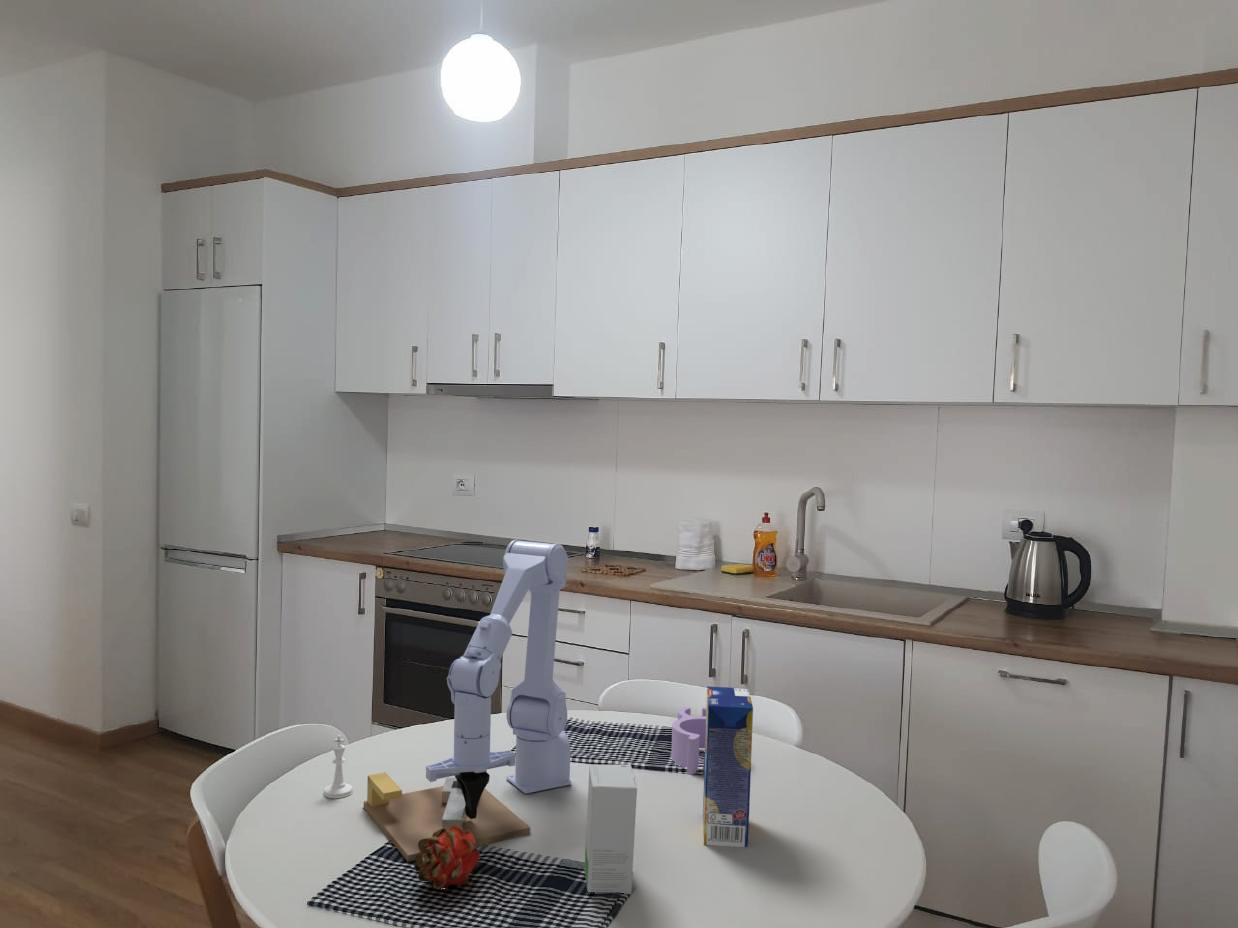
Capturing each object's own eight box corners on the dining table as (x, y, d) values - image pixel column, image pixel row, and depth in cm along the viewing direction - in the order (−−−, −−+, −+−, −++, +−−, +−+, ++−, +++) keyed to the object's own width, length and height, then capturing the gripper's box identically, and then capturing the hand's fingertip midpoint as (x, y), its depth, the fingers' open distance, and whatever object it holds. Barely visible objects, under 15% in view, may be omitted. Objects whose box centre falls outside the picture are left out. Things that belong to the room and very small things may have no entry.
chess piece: (344, 799, 157) (345, 741, 157) (317, 796, 158) (318, 738, 158) (358, 788, 162) (359, 732, 161) (332, 785, 163) (333, 729, 162)
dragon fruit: (422, 915, 124) (456, 886, 136) (473, 884, 123) (503, 857, 135) (392, 858, 126) (428, 833, 137) (442, 826, 125) (474, 804, 136)
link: (446, 788, 160) (446, 777, 160) (481, 789, 160) (481, 777, 160) (432, 832, 143) (432, 819, 143) (471, 832, 143) (471, 819, 143)
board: (474, 785, 165) (475, 757, 165) (530, 833, 146) (531, 802, 146) (363, 807, 154) (364, 777, 154) (407, 861, 136) (408, 828, 135)
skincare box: (584, 867, 136) (587, 762, 135) (629, 866, 136) (632, 762, 135) (587, 896, 127) (590, 785, 127) (634, 895, 128) (638, 785, 127)
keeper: (384, 797, 156) (385, 772, 156) (401, 816, 149) (402, 789, 148) (367, 801, 154) (367, 775, 154) (383, 820, 147) (383, 793, 147)
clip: (665, 739, 193) (666, 706, 193) (724, 739, 194) (725, 707, 193) (675, 775, 173) (676, 738, 173) (741, 776, 174) (742, 739, 173)
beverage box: (743, 817, 154) (748, 688, 154) (748, 847, 143) (753, 708, 143) (702, 815, 155) (707, 686, 154) (703, 844, 144) (708, 705, 143)
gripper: (438, 748, 139) (436, 835, 140) (524, 732, 147) (522, 816, 148) (421, 733, 145) (420, 818, 146) (505, 720, 153) (504, 800, 154)
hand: (470, 816), depth 147 cm, fingers closed, pressing on link
